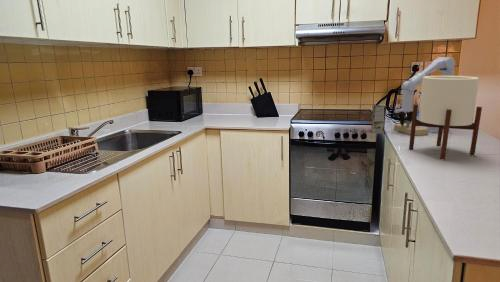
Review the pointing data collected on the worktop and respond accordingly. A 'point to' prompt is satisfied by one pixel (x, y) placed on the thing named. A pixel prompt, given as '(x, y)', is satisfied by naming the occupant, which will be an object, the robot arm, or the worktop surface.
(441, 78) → the plant pot with stand
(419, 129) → the carton lid
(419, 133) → the tan tray
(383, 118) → the coffee box
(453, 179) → the worktop surface
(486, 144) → the worktop surface
